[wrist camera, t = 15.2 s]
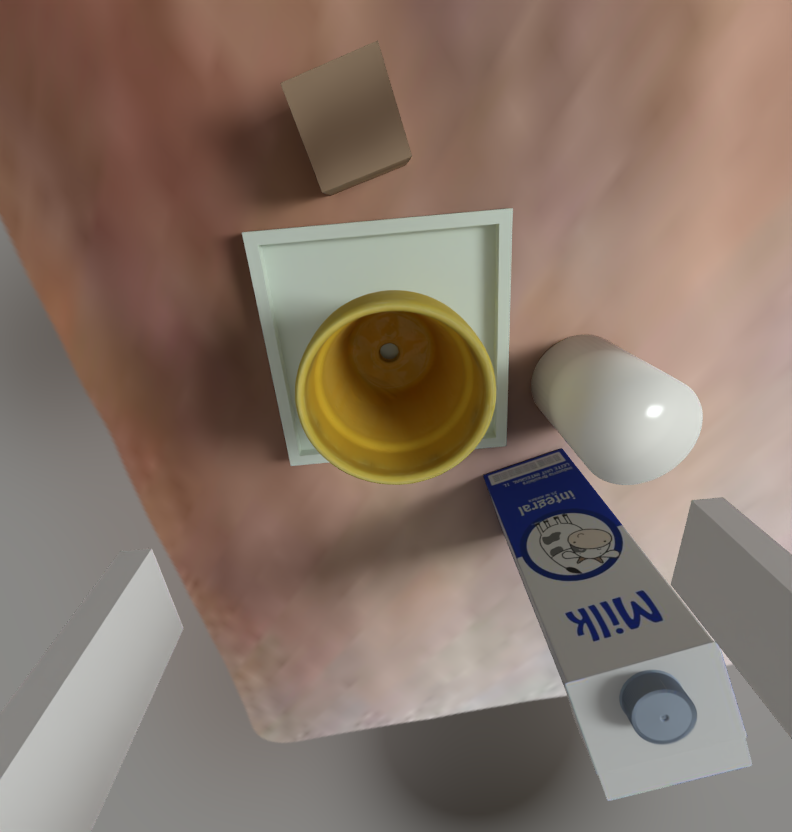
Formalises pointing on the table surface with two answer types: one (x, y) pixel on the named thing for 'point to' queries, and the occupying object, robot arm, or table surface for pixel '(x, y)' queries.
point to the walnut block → (348, 119)
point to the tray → (379, 271)
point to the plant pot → (395, 388)
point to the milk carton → (617, 635)
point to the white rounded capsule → (616, 409)
